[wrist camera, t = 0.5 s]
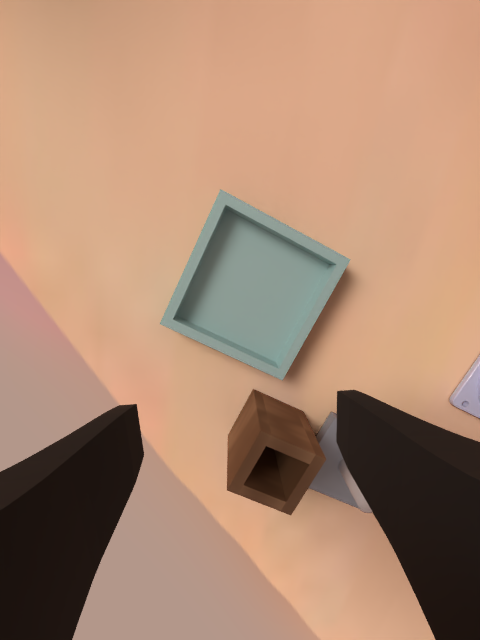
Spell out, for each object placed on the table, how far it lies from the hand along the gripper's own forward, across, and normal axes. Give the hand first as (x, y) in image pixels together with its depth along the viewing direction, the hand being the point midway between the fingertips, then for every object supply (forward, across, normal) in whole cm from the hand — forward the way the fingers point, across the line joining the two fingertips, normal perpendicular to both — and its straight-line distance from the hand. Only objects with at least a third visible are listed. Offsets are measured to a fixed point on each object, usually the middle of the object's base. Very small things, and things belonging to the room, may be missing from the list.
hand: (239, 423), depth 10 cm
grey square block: (+10, -8, +10) cm, 16 cm away
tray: (+10, -1, -4) cm, 10 cm away
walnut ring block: (+10, -2, +6) cm, 12 cm away
